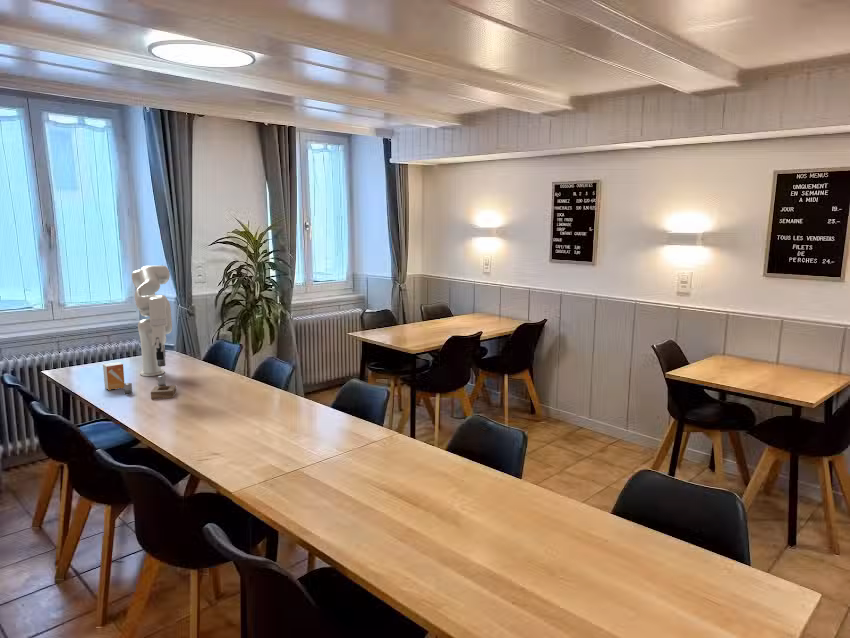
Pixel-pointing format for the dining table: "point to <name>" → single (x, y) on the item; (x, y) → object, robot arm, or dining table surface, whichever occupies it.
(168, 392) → the socket block
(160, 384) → the medium pin
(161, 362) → the long pin
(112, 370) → the small box
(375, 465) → the dining table surface
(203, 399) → the dining table surface
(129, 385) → the short pin
